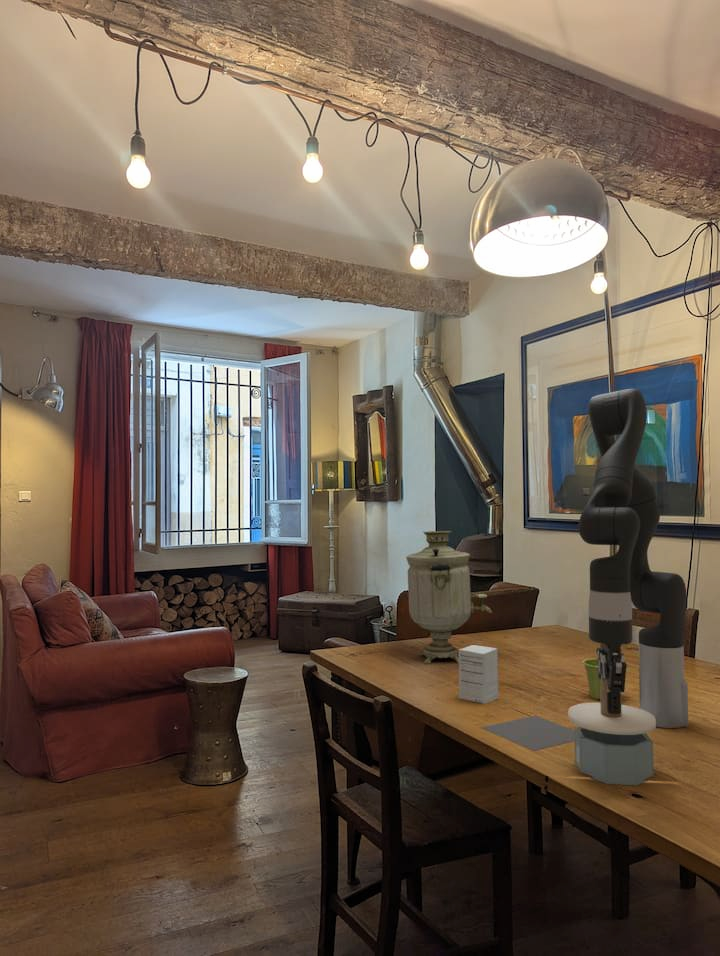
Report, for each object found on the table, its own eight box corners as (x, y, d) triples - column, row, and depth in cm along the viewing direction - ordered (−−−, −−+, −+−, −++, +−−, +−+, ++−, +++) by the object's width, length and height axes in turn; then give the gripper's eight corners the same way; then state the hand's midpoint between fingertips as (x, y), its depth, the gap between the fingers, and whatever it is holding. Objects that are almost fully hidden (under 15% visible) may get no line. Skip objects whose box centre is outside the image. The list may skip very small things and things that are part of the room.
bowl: (640, 759, 129) (639, 724, 129) (659, 786, 116) (659, 748, 117) (571, 755, 131) (571, 721, 131) (583, 782, 118) (583, 745, 119)
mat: (535, 717, 154) (535, 715, 154) (591, 738, 140) (591, 736, 140) (480, 729, 146) (480, 727, 146) (534, 753, 132) (533, 750, 132)
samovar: (483, 674, 193) (482, 534, 194) (395, 667, 201) (394, 533, 203) (497, 652, 221) (496, 530, 223) (419, 647, 229) (418, 529, 231)
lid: (643, 710, 130) (642, 672, 131) (666, 737, 115) (665, 694, 116) (562, 707, 133) (562, 669, 133) (575, 732, 118) (575, 690, 118)
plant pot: (610, 691, 175) (609, 657, 176) (630, 702, 166) (630, 666, 166) (576, 693, 174) (576, 659, 174) (595, 704, 165) (594, 668, 165)
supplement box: (473, 693, 174) (472, 644, 174) (499, 699, 169) (498, 648, 169) (458, 700, 168) (457, 649, 168) (484, 706, 163) (484, 653, 164)
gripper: (641, 622, 117) (643, 723, 117) (622, 610, 131) (623, 699, 131) (596, 621, 118) (597, 721, 118) (582, 609, 132) (583, 698, 132)
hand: (611, 709), depth 124 cm, fingers closed on lid, 3 cm apart
